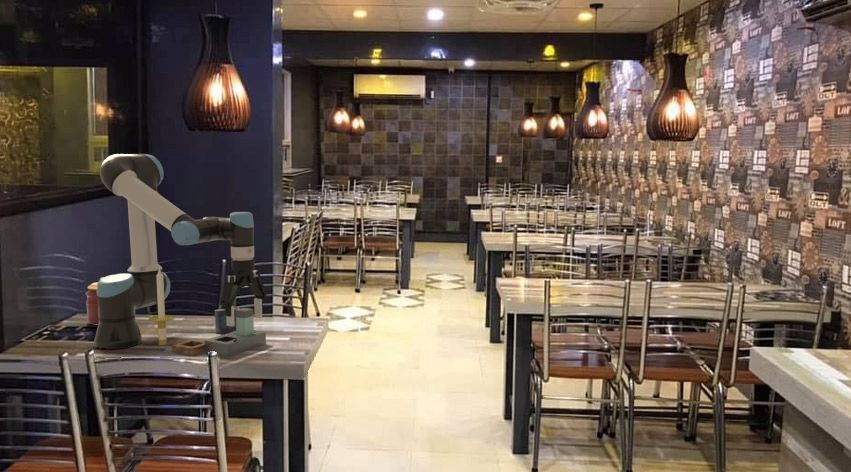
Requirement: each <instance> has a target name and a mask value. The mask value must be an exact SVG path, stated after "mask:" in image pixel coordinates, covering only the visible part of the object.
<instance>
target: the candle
mask: <svg viewBox="0 0 851 472" xmlns="http://www.w3.org/2000/svg"><path fill="white" fill-rule="evenodd" d="M156 277H157V299H158V303H157V315H153V316H151V317H148V321H149V322H153V323H157V331H158V332H157V333H158V334H157V335H158V336H157V337H158V345H159V346H165V345H167V323H166V322H169V321H172V320H174V319H175V318H176V317H175V316H174V315H171V314H166V312H165V311H166V309H165V307H166V306H165V300H164V283H163V275H162V273H161V271H160V268H159V272H158V274H157V275H156Z"/></svg>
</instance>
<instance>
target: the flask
mask: <svg viewBox="0 0 851 472" xmlns="http://www.w3.org/2000/svg"><path fill="white" fill-rule="evenodd" d="M238 309H241V308H239V307H238V308H237V307H234V326H227V320H226V315H225V308H222V309H220V308H219V309H215V310H214V322H215V323H214V327H215V330H214V332H215V334H216V335H219V336H221V335H224V334H227V333H231V332H234V331H236V310H238Z"/></svg>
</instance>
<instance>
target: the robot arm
mask: <svg viewBox="0 0 851 472" xmlns="http://www.w3.org/2000/svg"><path fill="white" fill-rule="evenodd" d="M99 176H100V180H101V182H102V184H103V185H104V187H106V188H107V189H108V190H109V191H110V192H111V193H113V194H114V195H116V196H117V197H123V198H125V199H126V200H127V208H128V209H127V210H128V224H129V225H128V228H129V241H130V242H129V243H130V244H129V245H130V256H131V257H130V259H131V265H130V266H129V267H128V268H127V273H116V274H111V275H107V276H105V277H104V276H103V277H104V278H102V277H101V278H102V279H100V278H99V280H98V284H97V300H98V315H99V325H98V326H97V329H96V333H95V337H94V340H93V342H94V343H93V344H94V345H95V346H94V347H95V348H97V347H99V348H98V349H101V348H106V349H105V350H116V349H118V348H119V349H125V347H127V348H132V347H135V346H137V345H139V344H141V343H142V342H143V336H142V333H141V330H140V328H139V325H138V323H137V320H136V310H138V309H141V308H145V307H146V308H147V307H149V306H151V307H153V306H155V305H158V299H157V277H156V275H157V274H158V272H159V268H160V271H161V273H162V275H163V283H164V301H165V300H166V298H168V295H169V294H170V292H171V280H170V278H169V277H168V275H167V274H166V273H165V272H163V267H162V265H160V264H159V263H158V253H157V252H158V249H157V237H156V236H157V235H156V234H157V233H156V222H157V223H159V224H160V225H161V226H162V227H164V228H166V229H167V230H168V231H170V234H171V238H172V239H173V241H174V243H176V244H177V245H179V246H191V245H192V246H193V245H195V244H200V243H208V242H212V241H213V242H214V241H230V257H231V261H230V262H231V263H230V265H231V270H232V272H233V274H232V275H226V277H225V285H224V288H223V291H222V295H221V299H220V301H219V305H220V306H222V307H224V309H225V315H226V320H227V326H234V302H235V300H236V297H237V296H238V294H239V292H240V290H242V288H246V287H248V289H250V291H251V292H252V294H253V295H254V297H255V298H254V299H253V307H254V308H253V314H254V318H256V319H262V318H263V300H265V298H266V297H267V295H268V292H267V290H266V287H265V285H264V283H263V279H262V278H261V271H260V270H258V269H256V266H255V264H256V263H255V259H254V257H255V242H254V240H255V239H254V237H255V235H254V233H255V232H254V231H255V229H254V228H255V224H254V217H253V213H252V212H249V211H234V212H231V213H230V214H229V217H219V216H205V217H203V218H201V219H195V218H193V217H192V216H190V215H189V214H187V213H186V212H184V211H183V210H181V209H180V208H179V207H178V206H176V205H174V204H173V203H172V202H170V201H169V200H168V199H167V198H165V197H164V196H162V195H161V194H160V193H159V192H158V186H159V185H161V183H162V181H163V180H164V169H163V166H162V163H161V162H160V160H159V159H158V158H157V157H155V156H154V155H151V154H146V153H132V154H131V153H129V154H128V153H126V154H124V153H120V154H119V153H116V154H112V155H109V156H108V157H106V159H104V160H103V161H102V164H101V165H100V169H99ZM255 269H256V270H255ZM119 349H118V350H119Z"/></svg>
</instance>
